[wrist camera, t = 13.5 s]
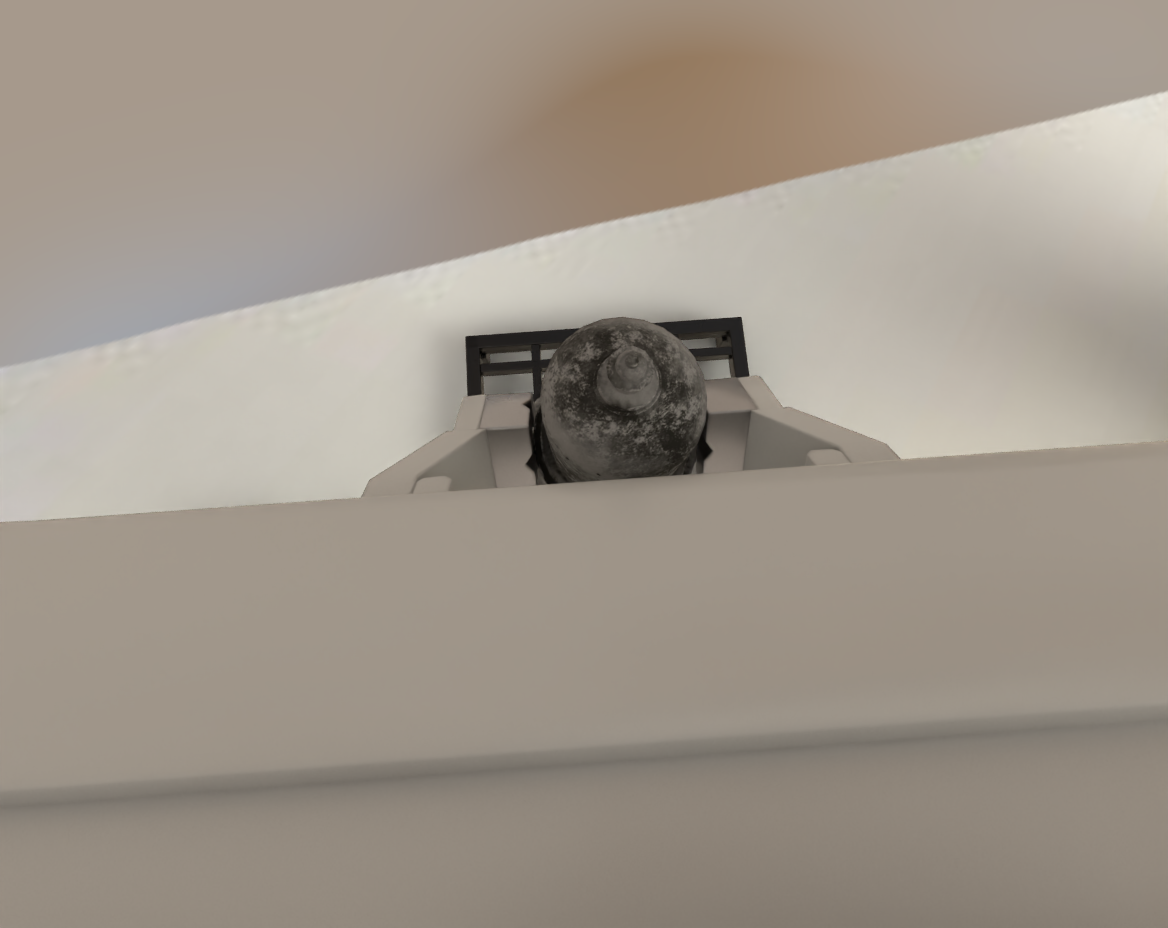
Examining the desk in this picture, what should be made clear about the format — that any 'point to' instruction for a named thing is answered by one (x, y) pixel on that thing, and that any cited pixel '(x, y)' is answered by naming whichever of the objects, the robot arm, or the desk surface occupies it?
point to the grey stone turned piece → (619, 405)
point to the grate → (484, 345)
